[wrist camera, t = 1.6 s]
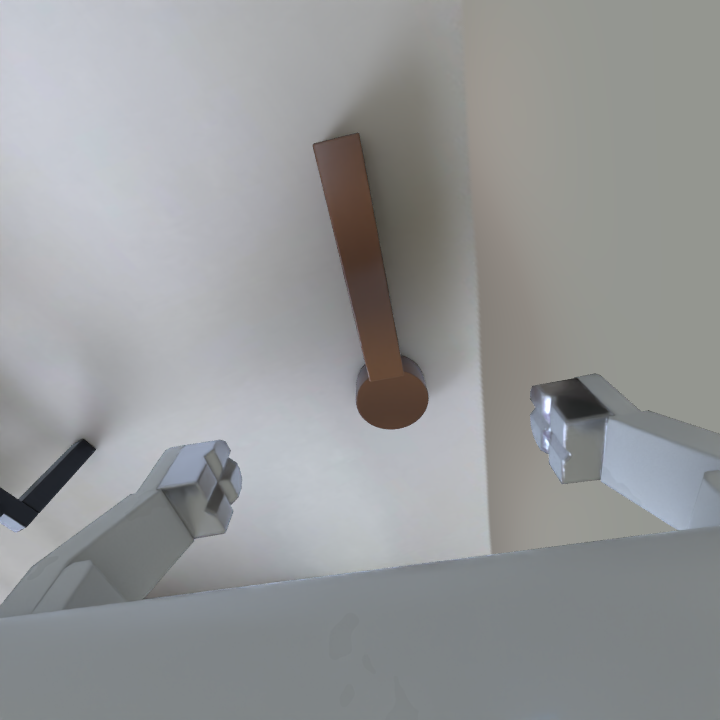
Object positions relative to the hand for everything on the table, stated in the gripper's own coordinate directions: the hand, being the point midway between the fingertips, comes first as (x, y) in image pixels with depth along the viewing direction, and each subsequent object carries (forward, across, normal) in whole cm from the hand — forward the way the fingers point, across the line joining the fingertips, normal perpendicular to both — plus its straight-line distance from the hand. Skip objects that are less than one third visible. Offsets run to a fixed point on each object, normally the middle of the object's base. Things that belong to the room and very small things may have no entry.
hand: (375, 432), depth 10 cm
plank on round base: (+13, 0, +1) cm, 13 cm away
